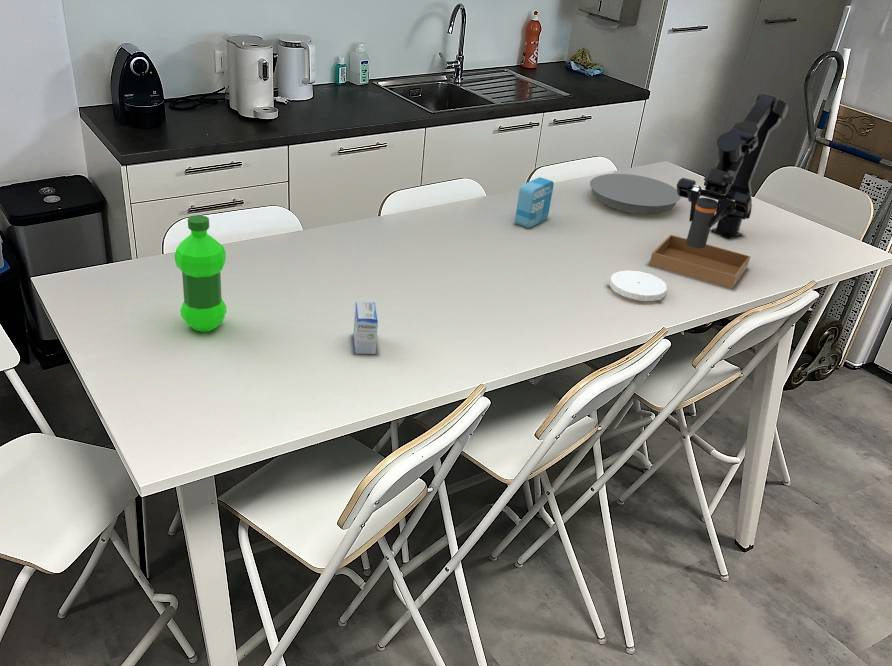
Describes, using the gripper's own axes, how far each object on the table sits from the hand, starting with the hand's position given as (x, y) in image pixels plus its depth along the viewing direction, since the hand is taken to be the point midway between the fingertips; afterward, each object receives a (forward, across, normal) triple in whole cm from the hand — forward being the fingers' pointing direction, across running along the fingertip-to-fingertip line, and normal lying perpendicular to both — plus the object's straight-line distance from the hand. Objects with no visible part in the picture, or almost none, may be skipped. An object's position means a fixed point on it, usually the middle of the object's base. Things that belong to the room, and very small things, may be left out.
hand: (699, 223), depth 221 cm
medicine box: (+73, -41, -54) cm, 99 cm away
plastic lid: (+25, -5, -6) cm, 26 cm away
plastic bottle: (+85, -72, -66) cm, 129 cm away
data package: (+10, -47, +10) cm, 49 cm away
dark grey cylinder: (+4, 0, +5) cm, 6 cm away
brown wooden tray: (+6, +2, +13) cm, 14 cm away
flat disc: (-17, -31, +37) cm, 51 cm away
